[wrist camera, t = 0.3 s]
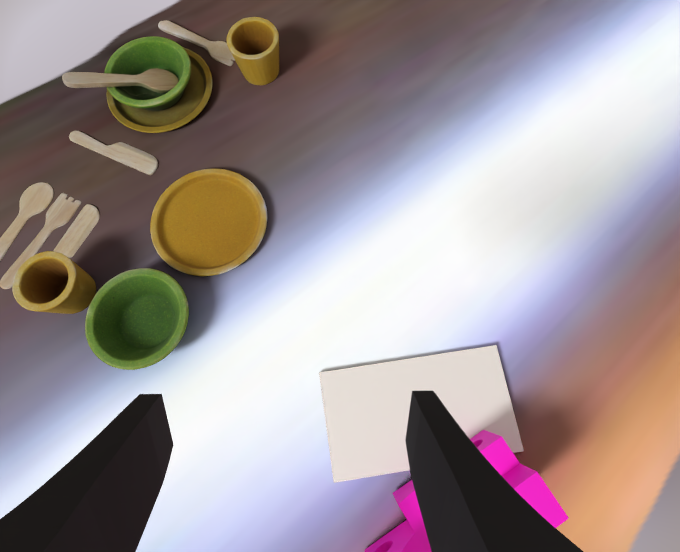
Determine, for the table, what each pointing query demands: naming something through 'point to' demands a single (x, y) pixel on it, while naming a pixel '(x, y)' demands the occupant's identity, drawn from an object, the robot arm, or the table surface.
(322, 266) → the table surface
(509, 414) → the mat
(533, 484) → the toy block
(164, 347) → the tableware set
